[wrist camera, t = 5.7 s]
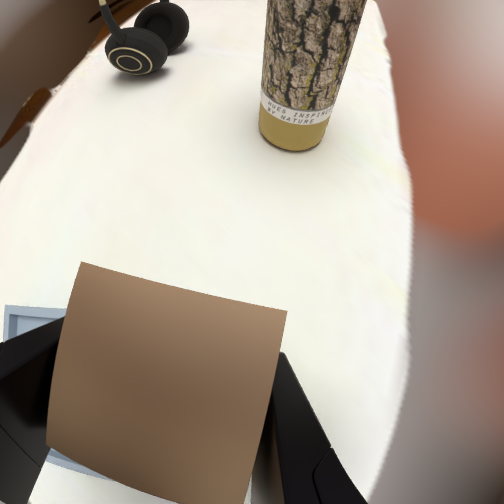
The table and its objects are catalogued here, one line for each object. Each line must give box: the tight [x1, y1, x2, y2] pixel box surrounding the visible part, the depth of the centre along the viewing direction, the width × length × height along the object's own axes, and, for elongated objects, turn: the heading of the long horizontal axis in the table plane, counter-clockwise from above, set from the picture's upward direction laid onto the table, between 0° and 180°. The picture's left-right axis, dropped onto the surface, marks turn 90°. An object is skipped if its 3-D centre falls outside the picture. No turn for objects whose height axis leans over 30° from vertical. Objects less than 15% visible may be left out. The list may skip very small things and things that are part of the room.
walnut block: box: [46, 262, 287, 504], centre depth 9 cm, size 5×5×9 cm
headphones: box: [99, 0, 189, 75], centre depth 23 cm, size 9×15×20 cm, turn 166°
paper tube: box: [259, 0, 367, 150], centre depth 16 cm, size 7×7×25 cm
